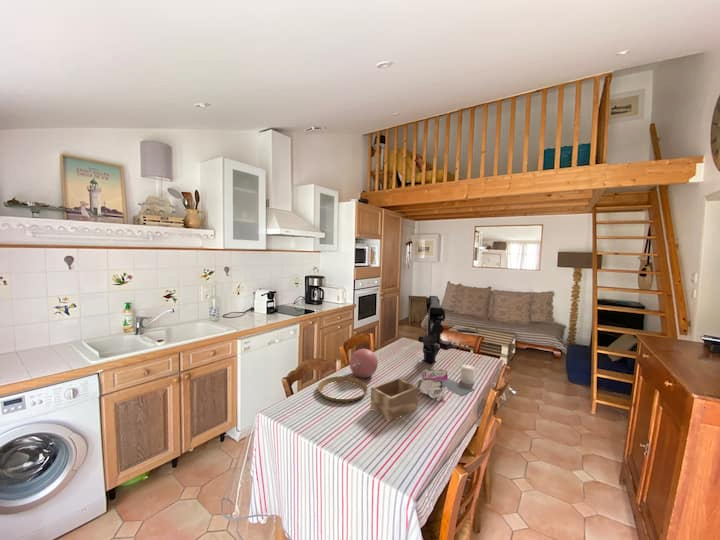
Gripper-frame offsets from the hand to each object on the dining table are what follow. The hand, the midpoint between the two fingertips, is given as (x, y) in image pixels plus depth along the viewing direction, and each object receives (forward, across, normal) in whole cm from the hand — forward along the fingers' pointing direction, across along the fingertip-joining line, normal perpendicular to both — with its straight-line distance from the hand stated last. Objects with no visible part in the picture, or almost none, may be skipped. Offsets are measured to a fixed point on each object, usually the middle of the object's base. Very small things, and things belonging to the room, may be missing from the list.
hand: (434, 357), depth 162 cm
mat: (+13, +11, 0) cm, 17 cm away
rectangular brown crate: (+13, +8, -39) cm, 42 cm away
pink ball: (+13, -25, -30) cm, 41 cm away
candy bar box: (+10, 0, -1) cm, 11 cm away
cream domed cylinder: (+13, +12, +14) cm, 22 cm away
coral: (+11, +9, -21) cm, 25 cm away
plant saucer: (+13, -18, -48) cm, 53 cm away
